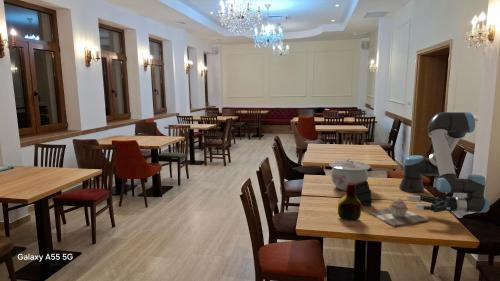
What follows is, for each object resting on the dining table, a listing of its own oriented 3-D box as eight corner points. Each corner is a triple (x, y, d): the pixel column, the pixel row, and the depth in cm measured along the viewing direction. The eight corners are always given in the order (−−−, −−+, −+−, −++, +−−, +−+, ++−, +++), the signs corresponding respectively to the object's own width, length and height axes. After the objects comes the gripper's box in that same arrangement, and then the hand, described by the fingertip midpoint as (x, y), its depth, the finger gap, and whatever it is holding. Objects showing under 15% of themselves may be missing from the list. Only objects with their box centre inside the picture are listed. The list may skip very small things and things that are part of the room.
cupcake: (400, 211, 182) (401, 194, 181) (411, 218, 173) (412, 200, 172) (385, 212, 181) (386, 195, 179) (395, 219, 172) (396, 201, 170)
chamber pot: (364, 197, 209) (365, 165, 206) (322, 190, 223) (323, 161, 220) (373, 186, 232) (375, 157, 229) (335, 180, 247) (336, 153, 244)
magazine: (377, 204, 191) (366, 181, 192) (355, 211, 197) (345, 188, 197) (377, 202, 195) (366, 179, 195) (355, 209, 200) (345, 186, 201)
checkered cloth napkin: (399, 208, 190) (400, 206, 190) (427, 221, 171) (428, 219, 171) (367, 212, 184) (368, 211, 183) (393, 227, 165) (393, 225, 165)
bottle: (361, 218, 176) (363, 182, 173) (360, 222, 170) (362, 185, 167) (338, 215, 181) (339, 180, 177) (336, 219, 175) (338, 183, 172)
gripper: (465, 220, 161) (420, 218, 164) (443, 202, 185) (403, 201, 188) (467, 205, 159) (421, 203, 162) (444, 189, 184) (404, 188, 187)
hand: (411, 202), depth 175 cm, fingers open, 13 cm apart
